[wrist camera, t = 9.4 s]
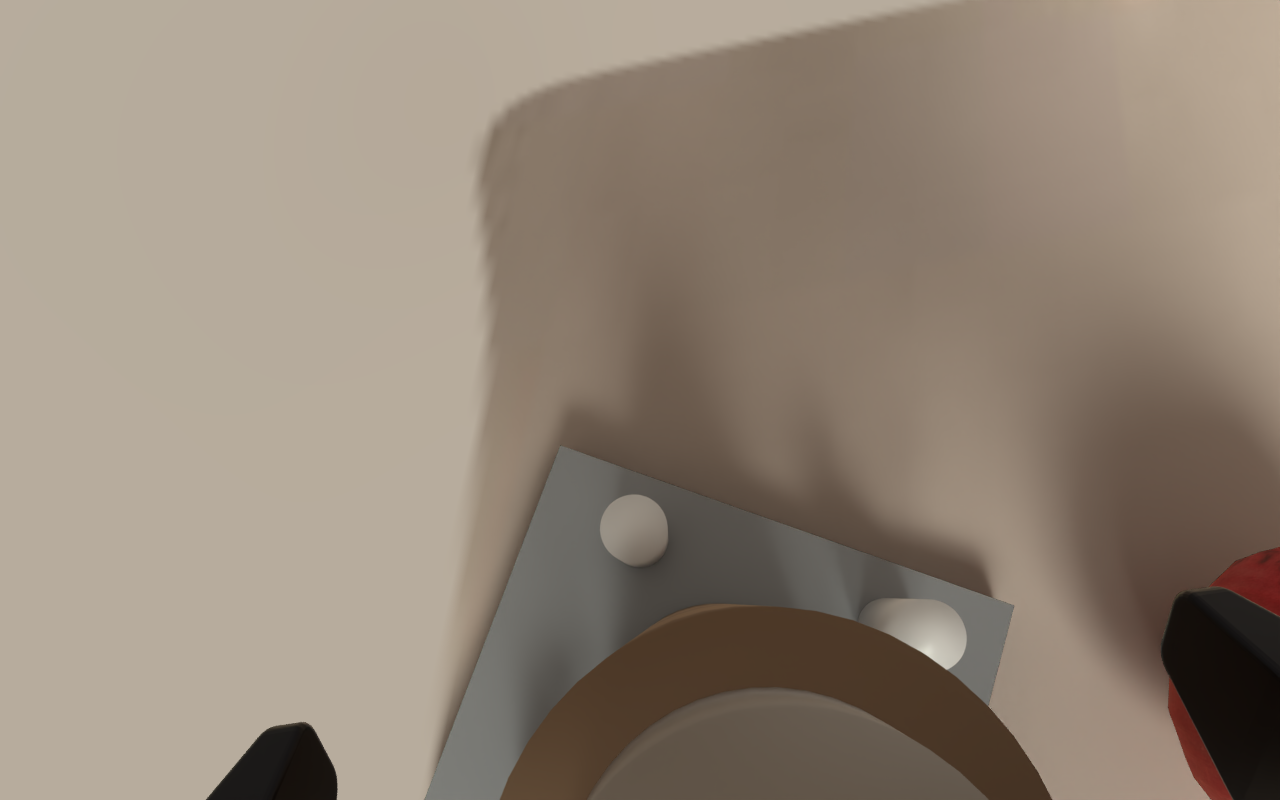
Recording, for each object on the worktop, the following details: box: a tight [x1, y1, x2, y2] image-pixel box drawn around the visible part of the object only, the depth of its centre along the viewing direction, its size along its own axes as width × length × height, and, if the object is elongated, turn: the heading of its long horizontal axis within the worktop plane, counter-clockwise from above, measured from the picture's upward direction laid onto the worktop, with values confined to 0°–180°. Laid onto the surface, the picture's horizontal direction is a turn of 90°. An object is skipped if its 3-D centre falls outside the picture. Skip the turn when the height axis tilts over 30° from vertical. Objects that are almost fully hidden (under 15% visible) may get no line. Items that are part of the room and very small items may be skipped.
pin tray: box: [425, 445, 1014, 800], centre depth 16 cm, size 8×10×4 cm
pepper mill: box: [500, 604, 1052, 800], centre depth 11 cm, size 4×4×12 cm
